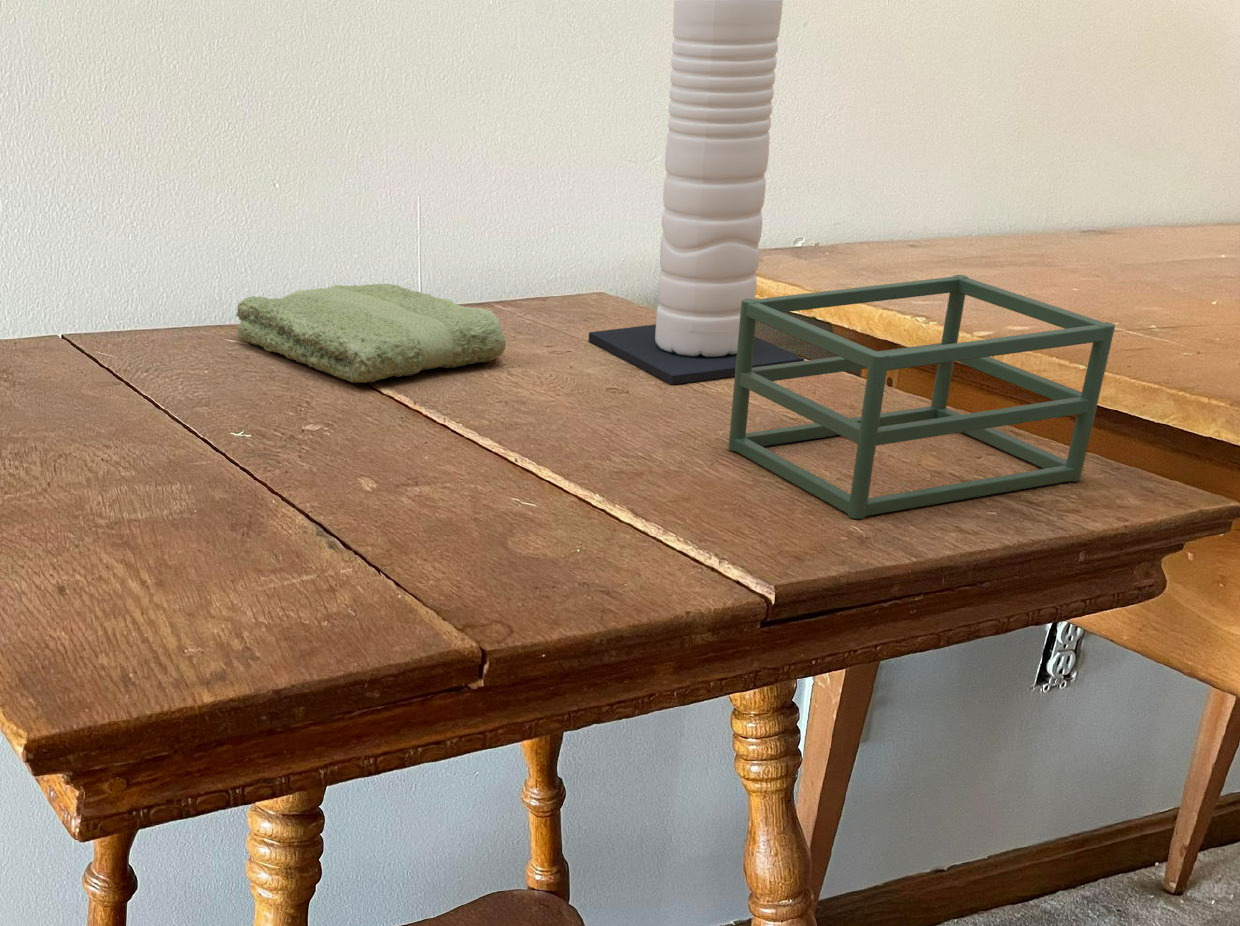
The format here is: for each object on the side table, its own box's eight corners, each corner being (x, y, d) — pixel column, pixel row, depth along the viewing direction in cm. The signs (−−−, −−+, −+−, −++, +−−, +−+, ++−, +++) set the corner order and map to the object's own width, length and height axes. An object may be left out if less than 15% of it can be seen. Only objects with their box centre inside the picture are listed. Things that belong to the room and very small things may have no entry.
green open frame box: (1083, 480, 83) (1119, 325, 79) (854, 520, 79) (877, 357, 74) (938, 416, 93) (962, 273, 88) (725, 448, 88) (738, 299, 83)
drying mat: (803, 367, 102) (804, 358, 101) (671, 385, 98) (672, 375, 98) (712, 326, 110) (712, 317, 110) (588, 341, 107) (588, 331, 107)
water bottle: (770, 345, 104) (815, -110, 89) (710, 364, 100) (746, -107, 85) (671, 323, 109) (698, -112, 94) (610, 340, 105) (628, -109, 90)
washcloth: (382, 311, 114) (380, 264, 112) (518, 364, 102) (519, 312, 101) (223, 337, 108) (218, 288, 106) (349, 396, 97) (345, 342, 95)
